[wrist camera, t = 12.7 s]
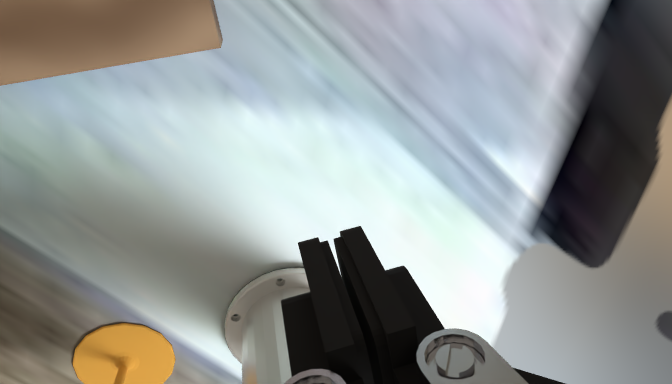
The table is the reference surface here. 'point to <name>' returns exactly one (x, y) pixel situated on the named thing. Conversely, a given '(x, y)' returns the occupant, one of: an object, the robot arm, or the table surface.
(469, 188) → the table surface
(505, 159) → the table surface
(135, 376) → the cup
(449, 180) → the table surface
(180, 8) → the tan wooden board
